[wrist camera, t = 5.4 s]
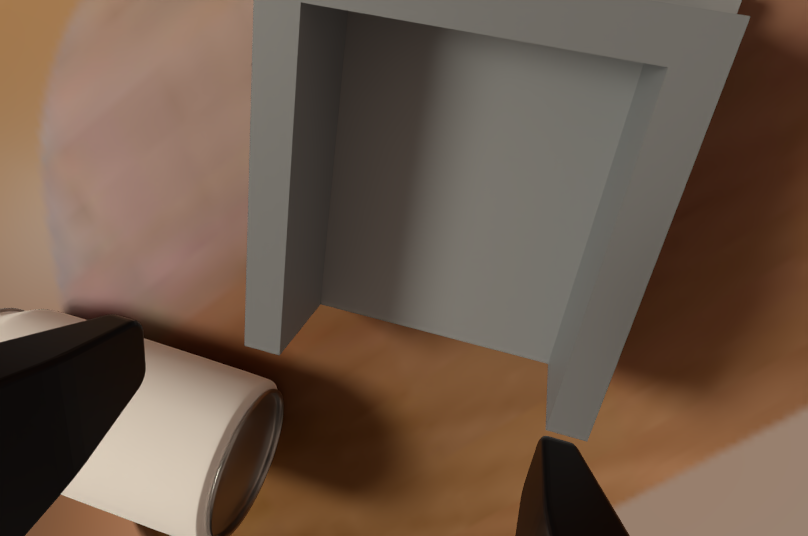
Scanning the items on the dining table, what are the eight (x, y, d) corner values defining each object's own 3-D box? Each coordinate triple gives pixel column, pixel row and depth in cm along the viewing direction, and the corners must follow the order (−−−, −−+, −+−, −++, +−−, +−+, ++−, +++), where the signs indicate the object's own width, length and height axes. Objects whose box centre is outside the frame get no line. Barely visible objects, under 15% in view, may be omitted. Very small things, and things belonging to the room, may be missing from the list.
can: (200, 482, 18) (-118, 369, 20) (210, 584, 22) (-57, 481, 23) (289, 349, 23) (32, 269, 25) (285, 450, 27) (62, 374, 29)
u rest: (599, 361, 21) (608, 447, 17) (286, 280, 22) (227, 340, 18) (734, -8, 15) (796, -12, 11) (308, -75, 17) (231, -98, 13)
